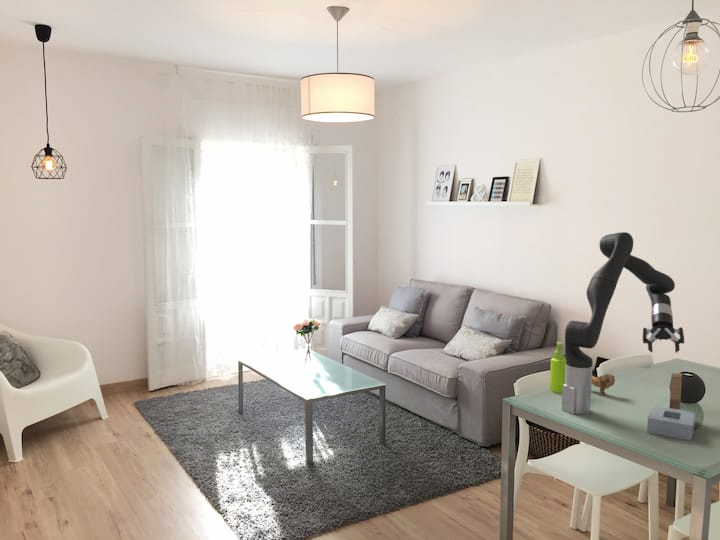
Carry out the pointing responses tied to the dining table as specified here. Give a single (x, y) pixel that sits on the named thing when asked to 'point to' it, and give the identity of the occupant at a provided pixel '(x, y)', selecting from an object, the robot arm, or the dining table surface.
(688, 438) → the grey slotted block
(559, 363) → the green bottle
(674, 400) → the slat
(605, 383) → the lion figurine
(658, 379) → the dining table surface
